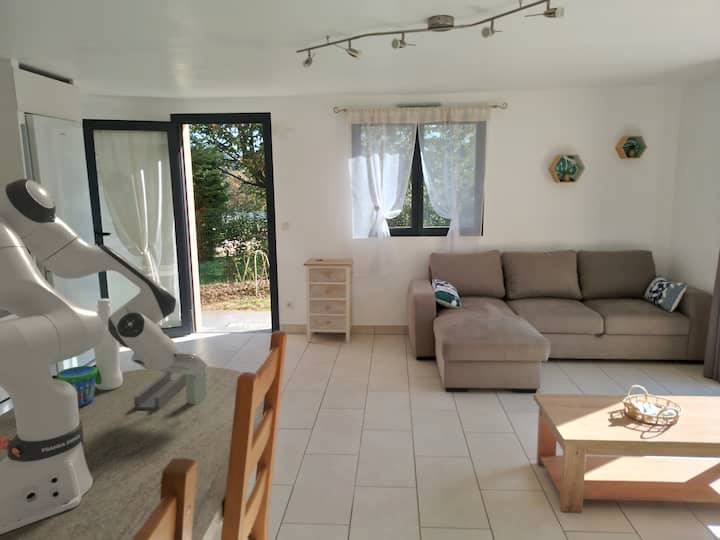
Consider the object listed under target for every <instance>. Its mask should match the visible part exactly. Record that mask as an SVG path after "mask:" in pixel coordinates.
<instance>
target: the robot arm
mask: <svg viewBox="0 0 720 540" xmlns="http://www.w3.org/2000/svg"><path fill="white" fill-rule="evenodd" d="M56 211H57V210H56V204H55V200H54V198H53V197H52V194H51V193H50V192H49V191H48V190H47V189H46V188H45V187H44V186H42V185H41V183H38V182H36V181H34V180H30V179H27V178H21V179H17V180H14V181H12V182H10V183H8V184H6V186H5V187H2V188H1V189H0V310H1V311H5V312H9V313H11V314H13V315H15V316H17V317H16V318H12V319H6V320H2V321H0V387H1V388H2V389H3V390H4V391H5V393H6V394H7V395H8V397H9V398H10V401H11V404H12V408H13V411H14V413H13V414H14V418H15V425H16V434H15V436H14V437H13V439H10V438H9V437H6V436H4V437H2V438H0V449H1V450H6V453H7V456H6V457H5V458H4V459H2V461H0V535H3V534H6V533H8V532H11V531H13V530H16V529H19V528H22V527H24V526H27V525H30V524H33V523H35V522H39V521H40V520H41V521H42V520H43V519H47V518H48V517H52V516H54V515H57V514H60V513H62V512H64V511H65V512H66V511H67V510H70V509H73V508H75V507H77V506H78V505H79V504H80V503H81V500H82V498H83V496H84V495H85V494H86V493H87V492H89V490H90V489H91V487H92V485H93V483H94V478H93V476H92V474H91V473H90V470H89V467H88V464H87V461H86V458H85V452H84V443H85V442H84V437H85V436H84V435H85V434H84V428H83V424H82V421H81V420H80V412H79V406H78V397H77V391H76V389H75V388H74V387H73V386H72V385H71V384H70V383H68V382H66V381H62V380H58V378H53V376H52V374H51V366H52V365H54V364H58V363H60V362H64V361H67V360H69V359H73V358H77V357H78V356H81V355H83V354H85V353H87V352H89V351H91V350H92V349H94V347H95V346H97V345H98V344H99V343H100V342H101V340H102V337H103V323H102V320H101V318H100V317H99V315H98V312H96V311H95V310H94V309H92V308H90V307H87V306H85V305H82V304H79V303H77V302H74V301H72V300H71V299H69V298H67V297H66V296H64V295H63V293H60V292H59V291H57V289H55V288H54V287H53V286H52V285H51V284H50V283H49V282H48V281H47V280H46V278H45V277H44V276H43V274H42V272H41V271H40V270H39V268H38V266H37V264H36V263H35V261H34V259H33V258H32V256H31V254H32V255H33V256H34V257H35V259H37V261H38V262H39V263H40V264H41V265H43V267H45V268H46V269H47V270H48V271H49V272H50V273H52V274H53V275H55V276H56V277H58V278H60V279H61V278H62V279H67V280H68V279H69V280H72V279H74V280H75V279H81V278H85V277H87V276H91V275H94V274H97V273H101V272H107V271H109V272H110V271H112V272H117V273H119V274H120V275H122V276H123V277H124V278H125V279H127V280H128V281H130V282H131V283H132V284H134V285H135V286H137V287H138V288H139V289H140V291H139V293H138V294H136V295H135V296H134V297H133V298H131V299H130V300H129V301H127V302H126V303H125V304H123V305H122V306H120V307H119V308H118V309H117V310H115V311H114V312H113V313H111V316H109V320H108V330H109V332H110V334H111V335H112V336H113V337H114V338H115V339H116V340H117V341H118V342H119V345H120V344H121V345H122V346H123V347H124V348H127V349H130V351H132V352H133V354H132V356H131V361H132V362H134V363H135V364H138V365H139V366H140V367H142V368H144V369H146V370H150V371H151V370H152V371H159V372H163V373H166V374H167V375H171V376H172V375H173V373H177V374H190V375H192V376H193V377H194V378H199V377H200V376H202V375H203V374H204V372H205V370H206V369H207V367H208V364H207V363H206V361H204V360H203V359H202V358H201V357H199V356H198V355H196V354H193V353H191V352H190V353H189V352H180V351H179V350H180V349H179V347H178V345H177V343H176V342H174V341H173V339H172V338H170V336H168V335H167V334H165V333H164V331H163V330H162V328H161V327H159V325H158V323H159V322H161V321H162V320H163V319H165V318H167V317H169V316H170V315H172V314H173V313H174V312H175V310H176V305H177V304H176V303H177V299H176V297H175V295H174V294H173V292H172V291H171V290H170V289H169V288H167V287H166V286H164V285H162V284H161V283H158V282H157V281H155V280H153V279H152V278H151V277H150V276H149V275H147V274H146V273H145V272H144V271H142V270H141V269H140V268H139V267H138V266H136V265H134V264H133V263H132V262H131V261H129V260H128V259H127V258H125V257H124V256H122V255H121V254H119V253H118V252H117V251H116V250H114V249H113V248H111V247H109V246H107V245H105V244H102V245H96V244H93V243H90V242H88V241H86V240H85V239H84V238H83V237H81V236H80V235H79V234H78V232H77V231H76V230H74V229H73V228H72V227H71V226H70V225H69V223H67V222H66V221H65V220H63V219H62V218H61V217H60V216H58V215H57V213H56ZM29 251H30V253H31V254H30V253H29Z"/></svg>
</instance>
